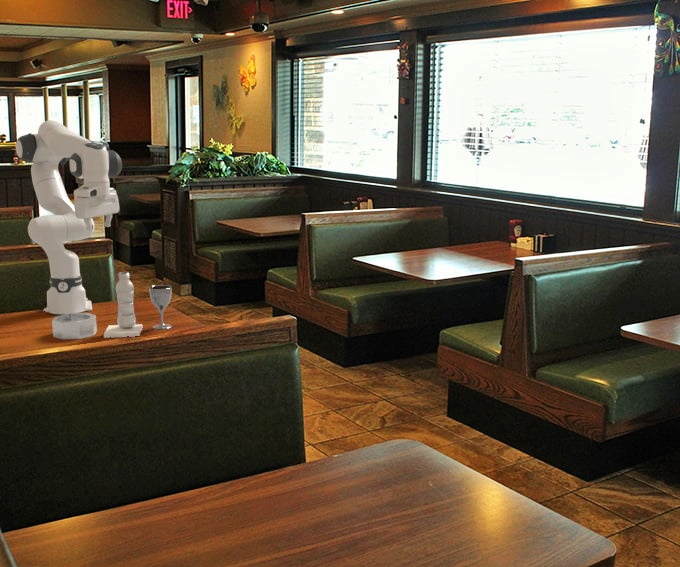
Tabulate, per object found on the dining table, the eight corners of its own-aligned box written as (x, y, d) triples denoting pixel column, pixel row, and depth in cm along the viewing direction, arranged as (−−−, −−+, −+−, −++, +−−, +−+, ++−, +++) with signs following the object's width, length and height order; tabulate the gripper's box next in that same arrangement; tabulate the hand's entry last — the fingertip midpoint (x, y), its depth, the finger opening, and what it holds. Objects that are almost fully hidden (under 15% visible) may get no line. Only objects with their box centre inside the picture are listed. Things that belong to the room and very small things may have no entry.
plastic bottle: (127, 324, 290) (124, 270, 286) (140, 326, 286) (137, 272, 282) (113, 328, 284) (110, 273, 280) (126, 330, 281) (122, 275, 277)
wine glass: (154, 330, 287) (152, 290, 284) (148, 325, 294) (146, 286, 291) (175, 327, 290) (174, 287, 287) (169, 323, 297) (168, 284, 294)
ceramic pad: (109, 329, 289) (108, 325, 288) (142, 328, 290) (142, 324, 290) (103, 337, 277) (103, 333, 277) (138, 336, 279) (138, 332, 278)
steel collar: (59, 329, 288) (58, 313, 287) (98, 328, 290) (97, 312, 289) (50, 339, 275) (49, 323, 274) (92, 338, 276) (90, 321, 275)
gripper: (108, 186, 290) (110, 223, 293) (70, 191, 272) (72, 231, 275) (122, 187, 288) (124, 225, 291) (85, 193, 270) (87, 233, 273)
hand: (98, 228), depth 283 cm, fingers open, 8 cm apart
